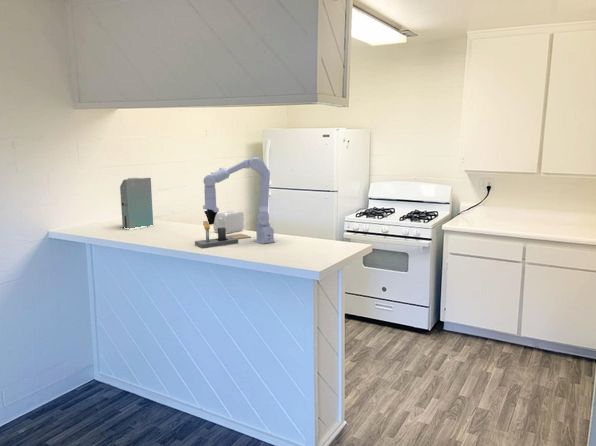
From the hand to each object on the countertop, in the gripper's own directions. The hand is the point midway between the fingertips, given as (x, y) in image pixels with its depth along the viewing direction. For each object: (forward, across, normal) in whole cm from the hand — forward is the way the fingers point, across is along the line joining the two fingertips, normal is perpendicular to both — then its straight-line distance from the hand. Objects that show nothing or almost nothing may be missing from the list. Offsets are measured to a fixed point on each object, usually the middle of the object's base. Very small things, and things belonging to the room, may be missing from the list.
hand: (211, 224), depth 254 cm
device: (+10, -66, -18) cm, 69 cm away
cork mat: (+10, -4, +17) cm, 20 cm away
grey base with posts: (+10, +6, 0) cm, 11 cm away
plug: (+10, +6, +3) cm, 12 cm away
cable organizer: (+10, -22, +21) cm, 32 cm away
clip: (+1, +1, -3) cm, 3 cm away
